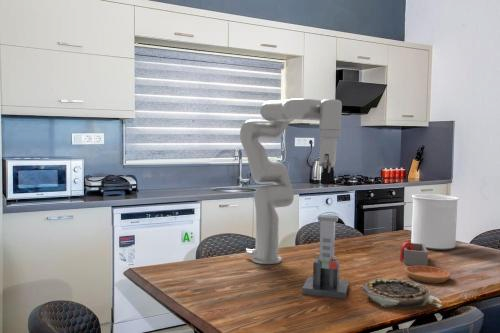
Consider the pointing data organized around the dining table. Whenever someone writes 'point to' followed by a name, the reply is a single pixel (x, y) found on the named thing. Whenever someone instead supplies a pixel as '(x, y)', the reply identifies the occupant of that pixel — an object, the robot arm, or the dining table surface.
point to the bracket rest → (416, 255)
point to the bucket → (434, 221)
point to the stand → (326, 281)
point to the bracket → (405, 245)
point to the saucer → (427, 274)
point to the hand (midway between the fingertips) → (327, 182)
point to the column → (327, 239)
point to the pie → (398, 293)
